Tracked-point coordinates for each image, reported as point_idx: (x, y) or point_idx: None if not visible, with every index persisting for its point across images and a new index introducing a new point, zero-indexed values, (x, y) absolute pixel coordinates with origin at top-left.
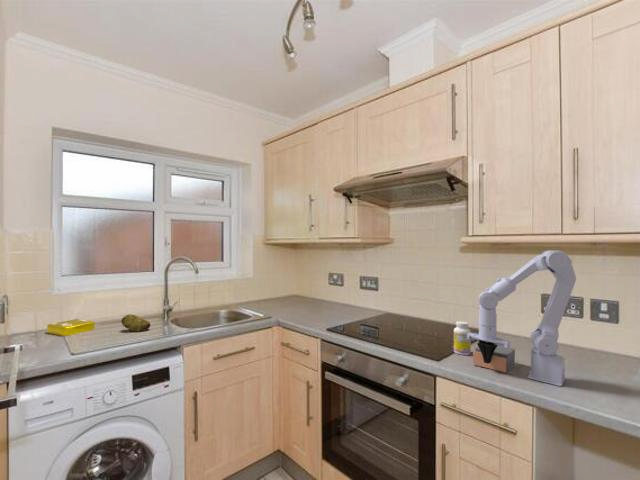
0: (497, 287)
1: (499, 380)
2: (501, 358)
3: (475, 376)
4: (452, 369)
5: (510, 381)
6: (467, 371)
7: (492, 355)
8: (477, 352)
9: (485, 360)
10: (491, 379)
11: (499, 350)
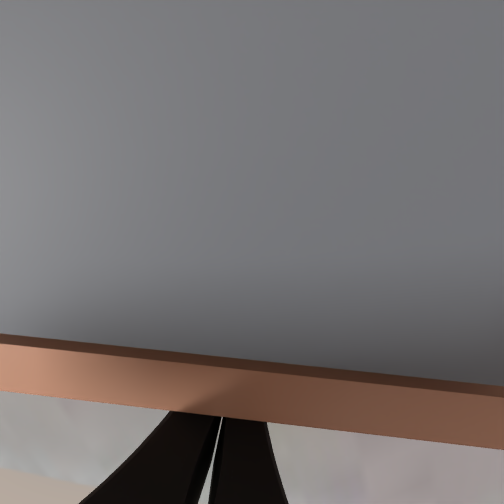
0: None
1: (396, 481)
2: (432, 434)
3: (208, 496)
4: (10, 459)
5: (493, 457)
6: (113, 439)
7: (263, 404)
8: (6, 390)
9: (209, 462)
10: (332, 492)
11: (352, 95)
